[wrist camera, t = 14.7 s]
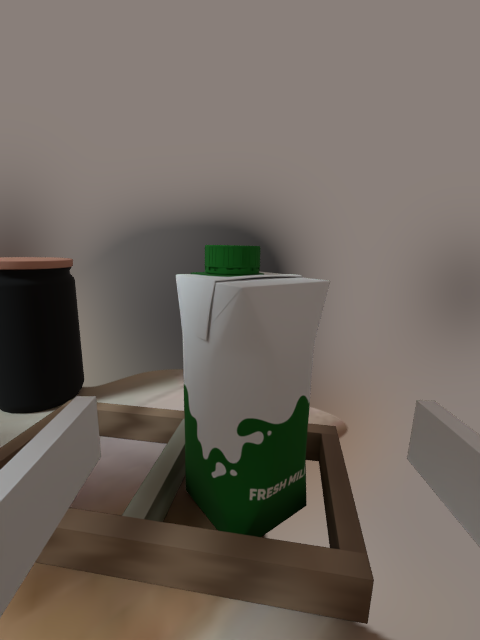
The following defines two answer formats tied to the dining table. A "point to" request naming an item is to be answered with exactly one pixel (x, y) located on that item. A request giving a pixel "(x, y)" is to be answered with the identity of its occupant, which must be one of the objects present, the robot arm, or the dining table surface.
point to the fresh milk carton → (247, 387)
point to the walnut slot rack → (211, 545)
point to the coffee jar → (38, 334)
